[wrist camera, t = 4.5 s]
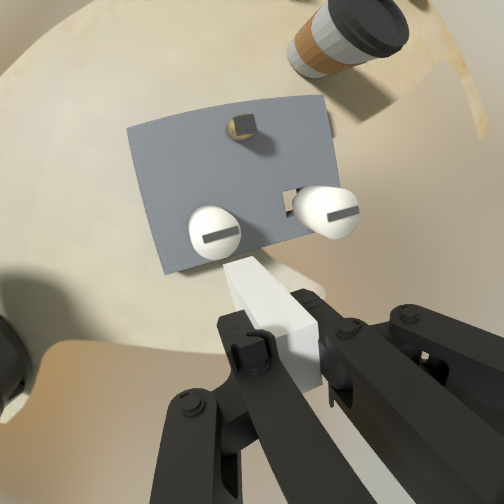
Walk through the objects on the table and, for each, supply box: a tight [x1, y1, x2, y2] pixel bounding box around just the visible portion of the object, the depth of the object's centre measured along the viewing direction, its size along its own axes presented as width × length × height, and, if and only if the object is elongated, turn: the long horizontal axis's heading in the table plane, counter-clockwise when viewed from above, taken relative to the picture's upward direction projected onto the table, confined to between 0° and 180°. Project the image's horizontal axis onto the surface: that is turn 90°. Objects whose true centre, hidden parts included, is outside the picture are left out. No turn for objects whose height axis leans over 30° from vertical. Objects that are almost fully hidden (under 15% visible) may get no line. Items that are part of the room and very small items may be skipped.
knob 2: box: [292, 185, 360, 240], centre depth 26 cm, size 4×4×8 cm
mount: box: [126, 95, 340, 275], centre depth 30 cm, size 22×16×3 cm
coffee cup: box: [287, 0, 409, 78], centre depth 22 cm, size 8×8×15 cm
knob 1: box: [188, 204, 241, 260], centre depth 28 cm, size 4×4×8 cm
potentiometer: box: [226, 114, 257, 141], centre depth 25 cm, size 2×2×4 cm
